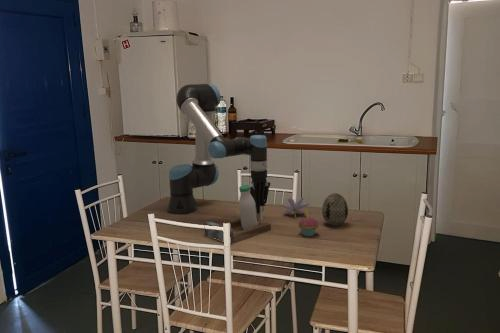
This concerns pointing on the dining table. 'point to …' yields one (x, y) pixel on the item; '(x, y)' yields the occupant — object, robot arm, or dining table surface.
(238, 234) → the guide channel
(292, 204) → the water lily
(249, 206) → the milk bottle
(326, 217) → the decorative egg
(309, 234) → the cupcake
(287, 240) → the dining table surface
